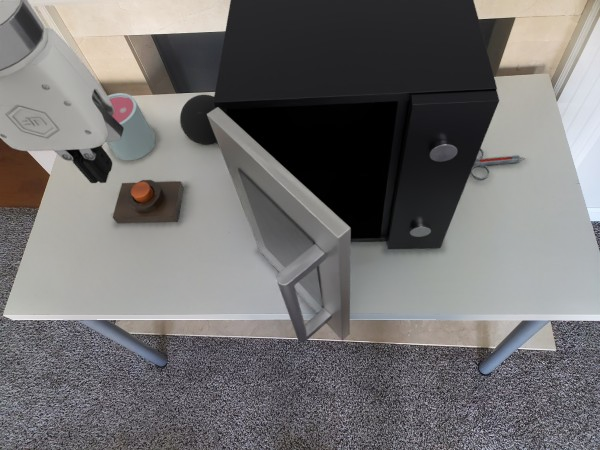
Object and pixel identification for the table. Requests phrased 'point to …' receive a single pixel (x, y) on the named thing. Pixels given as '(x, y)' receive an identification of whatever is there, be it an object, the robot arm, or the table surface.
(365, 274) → the table surface
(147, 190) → the button
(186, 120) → the speaker
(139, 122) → the mug
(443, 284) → the table surface
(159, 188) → the button block
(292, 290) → the microwave door
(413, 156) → the microwave
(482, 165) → the syringe
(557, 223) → the table surface
